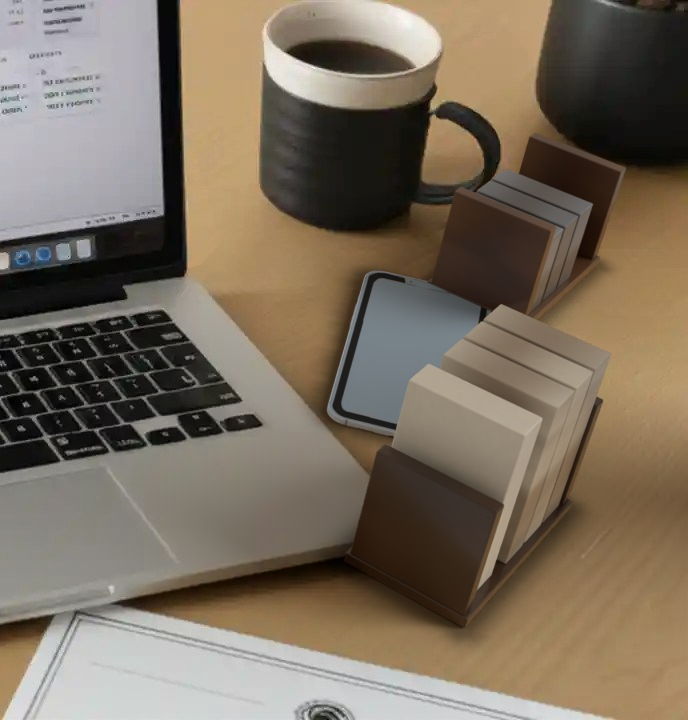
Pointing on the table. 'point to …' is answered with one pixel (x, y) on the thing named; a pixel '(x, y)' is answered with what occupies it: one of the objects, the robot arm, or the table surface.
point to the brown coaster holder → (529, 229)
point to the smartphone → (394, 346)
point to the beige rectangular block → (468, 439)
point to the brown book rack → (466, 505)
